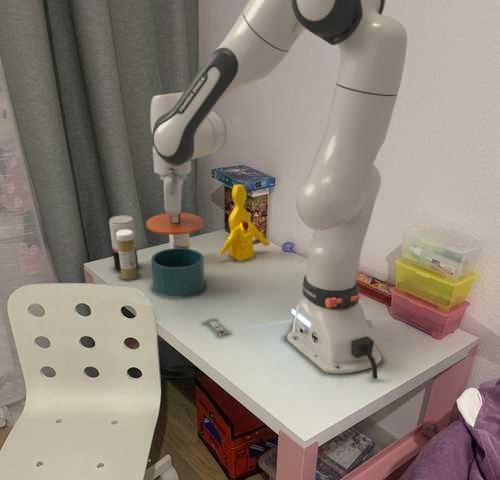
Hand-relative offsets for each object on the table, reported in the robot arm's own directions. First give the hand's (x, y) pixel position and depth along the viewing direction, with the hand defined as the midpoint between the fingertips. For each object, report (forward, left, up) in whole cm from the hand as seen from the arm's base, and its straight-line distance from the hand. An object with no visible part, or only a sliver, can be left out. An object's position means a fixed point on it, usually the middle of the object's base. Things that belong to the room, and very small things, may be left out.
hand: (175, 219), depth 124 cm
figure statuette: (+14, -23, -19) cm, 33 cm away
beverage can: (+16, +12, -19) cm, 28 cm away
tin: (0, 0, -19) cm, 19 cm away
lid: (0, 0, -1) cm, 1 cm away
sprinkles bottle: (+10, +12, -19) cm, 25 cm away
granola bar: (-24, -4, -20) cm, 31 cm away
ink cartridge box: (+16, -4, -19) cm, 25 cm away
